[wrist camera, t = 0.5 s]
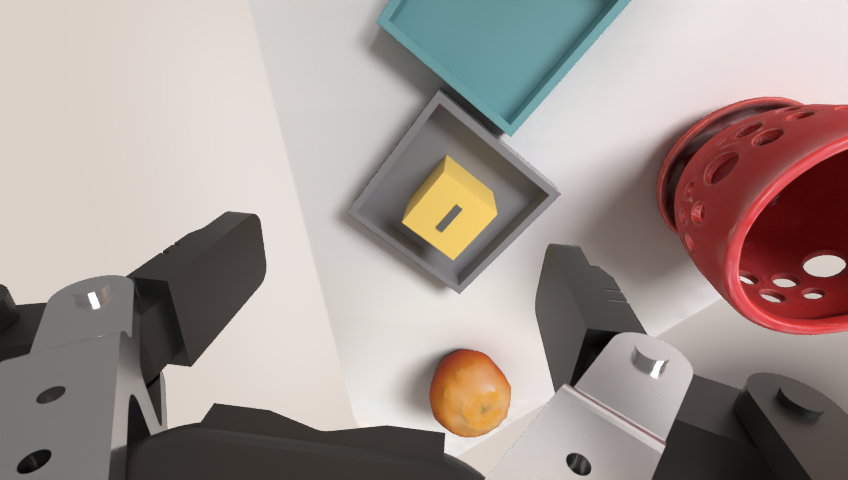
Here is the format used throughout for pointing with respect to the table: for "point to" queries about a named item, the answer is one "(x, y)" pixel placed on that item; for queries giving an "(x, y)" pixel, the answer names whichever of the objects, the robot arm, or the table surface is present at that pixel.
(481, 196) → the marked block
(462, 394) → the fruit
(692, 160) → the plant pot
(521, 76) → the tray
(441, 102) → the tray
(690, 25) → the table surface
